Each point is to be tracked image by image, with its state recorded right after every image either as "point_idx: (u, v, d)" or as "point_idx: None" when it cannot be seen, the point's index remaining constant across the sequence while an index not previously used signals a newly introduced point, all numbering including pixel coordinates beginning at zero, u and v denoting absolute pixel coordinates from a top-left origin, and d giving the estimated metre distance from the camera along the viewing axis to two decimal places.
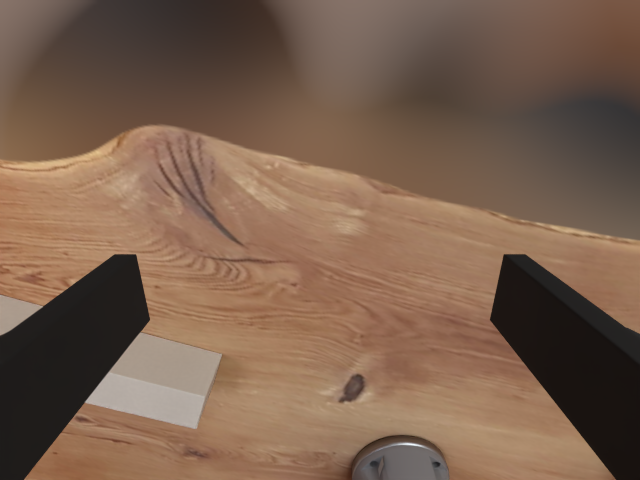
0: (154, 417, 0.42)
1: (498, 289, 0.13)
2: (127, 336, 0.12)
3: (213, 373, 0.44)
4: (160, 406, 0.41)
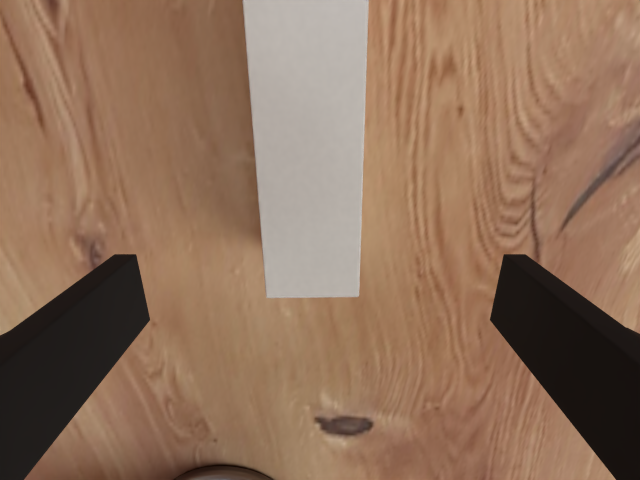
0: (265, 215, 0.19)
1: (497, 289, 0.13)
2: (127, 336, 0.12)
3: None
4: (302, 222, 0.19)
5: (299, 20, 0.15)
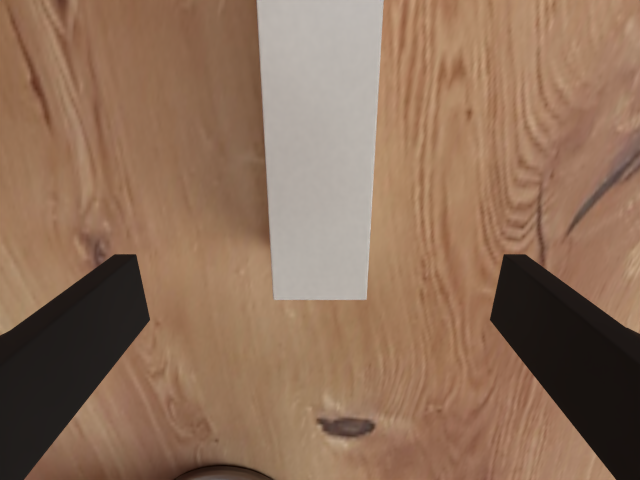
0: (274, 217, 0.19)
1: (497, 289, 0.13)
2: (127, 336, 0.12)
3: None
4: (311, 224, 0.19)
5: (313, 22, 0.15)
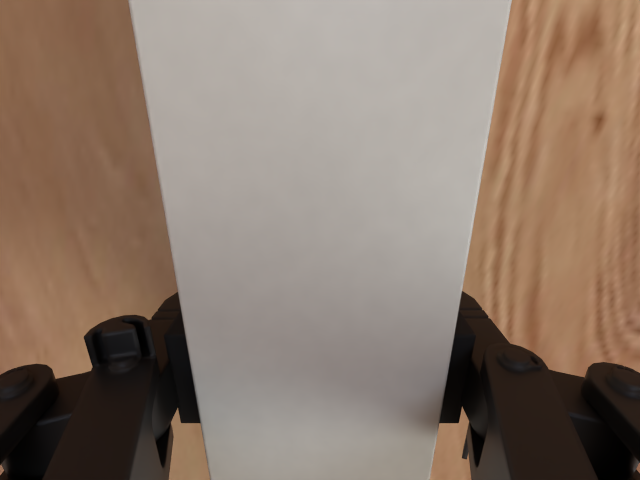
0: (208, 383, 0.08)
1: None
2: None
3: None
4: (299, 397, 0.08)
5: None
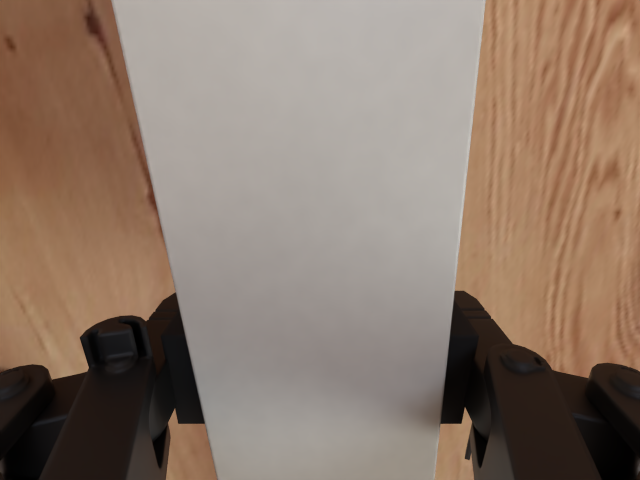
0: (210, 384, 0.08)
1: None
2: None
3: None
4: (300, 395, 0.08)
5: None
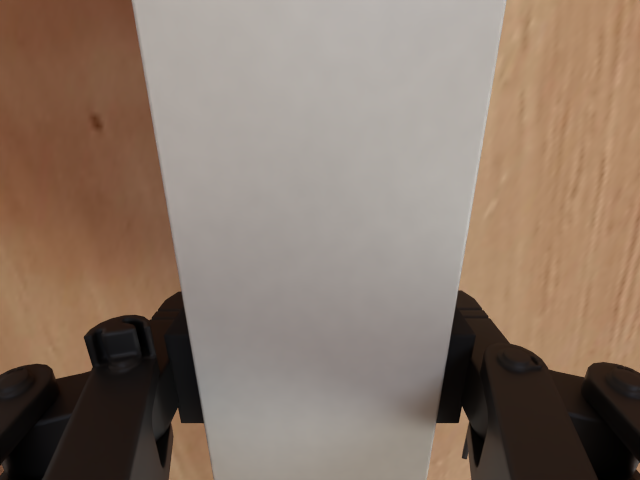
0: (210, 378, 0.08)
1: None
2: None
3: None
4: (300, 392, 0.08)
5: None
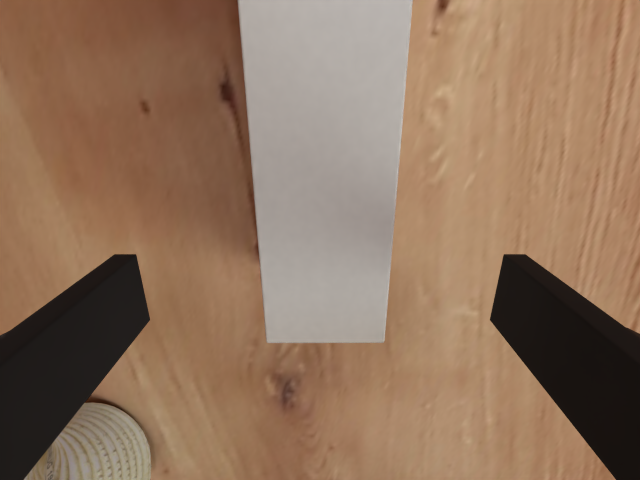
0: (266, 242, 0.14)
1: (497, 289, 0.13)
2: (127, 336, 0.12)
3: None
4: (314, 251, 0.14)
5: None
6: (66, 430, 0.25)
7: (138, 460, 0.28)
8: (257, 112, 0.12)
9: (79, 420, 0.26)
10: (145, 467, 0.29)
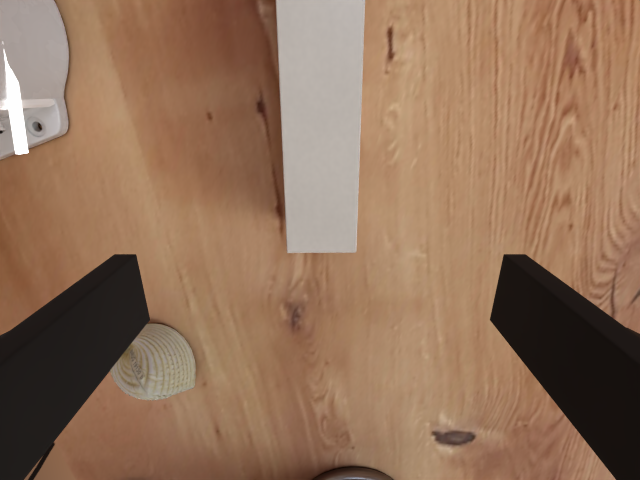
0: (288, 189, 0.26)
1: (497, 289, 0.13)
2: (127, 336, 0.12)
3: None
4: (315, 194, 0.26)
5: (315, 52, 0.23)
6: (143, 338, 0.36)
7: (188, 367, 0.39)
8: (286, 118, 0.24)
9: (150, 332, 0.37)
10: (192, 374, 0.40)
